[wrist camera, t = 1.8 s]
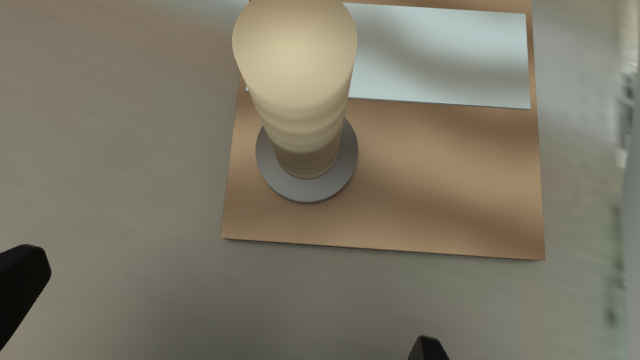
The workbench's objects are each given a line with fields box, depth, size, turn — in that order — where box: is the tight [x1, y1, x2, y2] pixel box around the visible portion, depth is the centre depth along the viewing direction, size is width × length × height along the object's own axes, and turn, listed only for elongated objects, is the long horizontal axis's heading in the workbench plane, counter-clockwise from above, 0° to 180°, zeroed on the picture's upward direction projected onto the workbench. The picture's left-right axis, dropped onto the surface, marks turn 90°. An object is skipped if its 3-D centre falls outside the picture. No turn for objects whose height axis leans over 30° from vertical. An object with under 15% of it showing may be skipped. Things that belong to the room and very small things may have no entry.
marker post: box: [232, 0, 358, 204], centre depth 16 cm, size 6×6×12 cm
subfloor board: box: [220, 0, 545, 260], centre depth 23 cm, size 17×18×1 cm
